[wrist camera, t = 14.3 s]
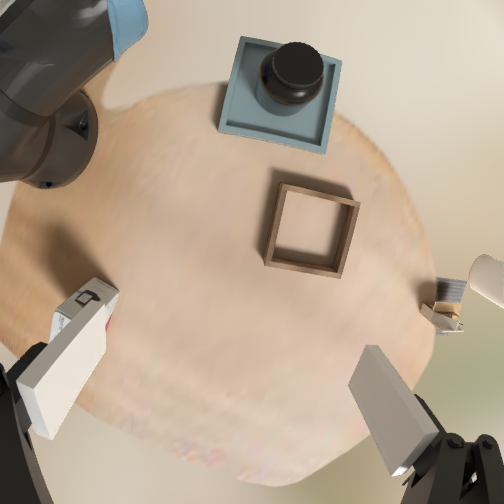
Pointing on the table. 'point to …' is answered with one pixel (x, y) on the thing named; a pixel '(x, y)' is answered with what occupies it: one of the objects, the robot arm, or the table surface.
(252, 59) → the tray
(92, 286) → the ink box
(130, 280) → the table surface
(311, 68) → the supplement bottle
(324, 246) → the table surface
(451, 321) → the architectural model
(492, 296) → the cylindrical container
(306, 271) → the frame
